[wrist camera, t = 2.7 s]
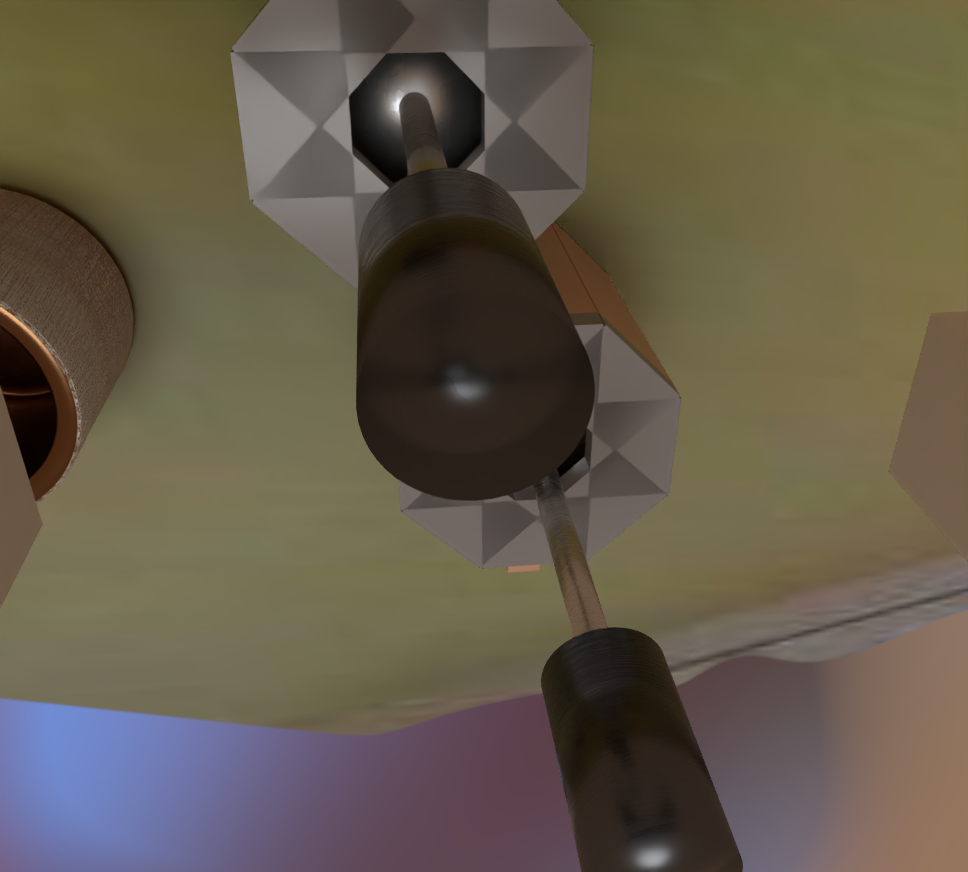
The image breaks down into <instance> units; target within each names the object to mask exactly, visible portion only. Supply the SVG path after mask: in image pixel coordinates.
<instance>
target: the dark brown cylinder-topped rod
mask: <svg viewBox="0 0 968 872" xmlns="http://www.w3.org/2000/svg"><path fill="white" fill-rule="evenodd" d="M349 98H350V112H351V126H352V140H353V147H354V148H356V149H357V150H358V151H359V152H360V153H361V154H362V155H363V156H364V157H365V158H366V159H368V160H369V161H370V162H371V163H372V164H373V165H374V166H375V167H376V168H377V169H378V170H380V171H381V172H382V173H383V174H384V175H385V176H386V177H387V178H388V179H389V180H390V181H392V182H393V183H395V184H394V185H392V186H391V187H390V188H389V189H387V190H386V191H385V192H384V193H383V194H382V195H381V196H380V197H379V199H378V200H377V201H376V202H375V204H374V205H373V206H372V208H371V210H370V211H369V213H368V215H367V217H366V219H365V222H364V224H363V227H362V231H361V234H360V240H359V258H358V321H357V383H356V410H357V416H358V422H359V426H360V429H361V432H362V435H363V437H364V439H365V441H366V444H367V446H368V448H369V449H370V451H371V452H372V454H373V455H374V456H375V458H376V459H377V460H378V462H379V463H380V464H381V465H382V466H383V467H384V468H385V469H386V470H387V471H388V472H389V473H391V474H392V475H393V476H394V477H395V478H397V479H398V480H400V481H401V482H403V483H405V484H406V485H408V486H410V487H412V488H414V489H416V490H418V491H420V492H423V493H426V494H429V495H432V496H435V497H440V498H445V499H451V500H461V501H478V500H486V499H494V498H498V497H502V496H507V495H509V494H512V493H515V492H518V491H521V490H523V489H525V488H527V487H529V486H532V485H534V484H535V483H537V482H539V481H540V480H542V479H543V478H545V477H547V476H548V475H549V474H550V473H552V472H553V471H554V470H556V469H557V468H558V467H559V466H560V465H561V464H562V463H563V462H564V461H565V460H566V459H567V458H568V457H569V456H570V454H571V453H572V452H573V451H574V449H575V448H576V447H577V445H578V443H579V442H580V440H581V439H582V437H583V435H584V433H585V431H586V428H587V426H588V424H589V421H590V418H591V414H592V411H593V405H594V398H595V381H594V375H593V369H592V366H591V362H590V359H589V356H588V354H587V352H586V350H585V347H584V345H583V343H582V341H581V339H580V337H579V334H578V332H577V330H576V328H575V326H574V324H573V321H572V319H571V317H570V315H569V313H568V311H567V308H566V306H565V304H564V302H563V300H562V298H561V295H560V293H559V291H558V289H557V287H556V285H555V283H554V280H553V278H552V276H551V274H550V272H549V270H548V267H547V265H546V263H545V261H544V259H543V257H542V254H541V252H540V250H539V248H538V246H537V244H536V241H535V239H534V237H533V235H532V233H531V231H530V228H529V226H528V224H527V222H526V220H525V218H524V216H523V214H522V212H521V209H520V208H519V206H518V205H517V203H516V202H515V200H514V199H513V198H512V197H511V196H510V195H509V194H508V192H507V191H505V190H504V189H503V188H502V187H501V186H500V185H498V184H497V183H495V182H494V181H492V180H491V179H489V178H487V177H485V176H483V175H481V174H479V173H475V172H472V171H469V170H465V169H459V168H458V167H459V166H460V165H461V163H462V162H463V161H464V160H465V159H466V158H467V157H468V156H469V155H470V154H471V153H472V152H473V151H474V150H475V149H476V148H477V147H478V146H479V144H480V143H481V90H480V88H479V87H478V86H477V85H476V84H475V83H474V82H473V81H472V80H471V79H470V78H469V77H468V76H467V75H466V74H465V73H464V72H463V71H462V70H461V69H460V68H459V67H458V66H457V65H456V64H455V63H454V62H453V61H452V60H451V59H450V58H449V57H448V55H447V54H446V53H445V52H430V53H386V54H385V56H384V57H383V58H382V59H381V60H380V61H379V62H378V64H377V65H376V66H375V67H374V68H373V69H372V71H371V72H370V73H369V74H368V75H367V76H366V77H365V79H364V80H363V81H362V82H361V83H360V84H359V85H358V87H357V88H356V89H355V90H354V91H353V92H352V93H351V95H350V96H349Z"/></svg>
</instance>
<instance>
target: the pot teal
mask: <svg viewBox="0 0 968 872" xmlns="http://www.w3.org/2000/svg"><path fill="white" fill-rule="evenodd" d="M592 43H593V42H592V41H591V40H590V39H589V38H588V36H587V35H586V34H585V33H584V32H583V31H582V30H581V28H580V27H579V26H578V25H577V24H576V23H575V21H574V20H573V19H572V18H571V17H570V16H569V15H568V13H567V12H566V11H565V10H564V9H563V8H562V7H561V5H560V4H559V3H558V2H557V1H556V0H268V1H267V2H266V3H265V5H264V6H263V7H262V9H261V10H260V11H259V13H258V14H257V15H256V17H255V18H254V19H253V20H252V22H251V23H250V24H249V26H248V27H247V28H246V30H245V31H244V32H243V34H242V35H241V36H240V38H239V39H238V40H237V42H236V43H235V44H234V46H233V47H232V48H231V49H232V51H231V52H230V54H231V62H232V69H233V77H234V84H235V92H236V99H237V107H238V114H239V121H240V129H241V136H242V144H243V151H244V159H245V166H246V174H247V181H248V189H249V196H250V200H252V203H253V204H254V205H255V206H256V207H257V208H259V209H260V210H261V211H262V212H263V213H265V214H266V215H267V216H268V217H270V218H271V219H272V220H273V221H274V222H276V223H277V224H278V225H279V226H280V227H282V228H283V229H284V230H285V231H286V232H288V233H289V234H290V235H291V236H292V237H294V238H295V239H296V240H297V241H298V242H300V243H301V244H302V245H303V246H305V247H306V248H307V249H308V250H309V251H311V252H312V253H313V254H314V255H315V256H317V257H318V258H319V259H320V260H321V261H323V262H324V263H325V264H326V265H327V266H329V267H330V268H331V269H332V270H333V271H335V272H336V273H337V274H338V275H340V276H341V277H342V278H343V279H344V280H346V281H347V282H348V283H349V284H350V285H352V286H353V287H354V288H355V289H356V290H357V289H358V258H359V240H360V234H361V231H362V227H363V224H364V222H365V219H366V217H367V215H368V213H369V211H370V210H371V208H372V206H373V205H374V204H375V202H376V201H377V200H378V199H379V197H380V196H381V195H382V194H383V193H384V192H385V191H386V190H387V189H389V188H390V187H391V186H392V185H394V184H395V183H393V182H392V181H390V180H389V179H388V178H387V177H386V176H385V175H384V174H383V173H382V172H381V171H380V170H378V169H377V168H376V167H375V166H374V165H373V164H372V163H371V162H370V161H369V160H368V159H366V158H365V157H364V156H363V155H362V154H361V153H360V152H359V151H358V150H357V149H356V148H354V147H353V140H352V126H351V112H350V98H349V96H350V95H351V93H352V92H353V91H354V90H355V89H356V88H357V87H358V85H359V84H360V83H361V82H362V81H363V80H364V79H365V77H366V76H367V75H368V74H369V73H370V72H371V71H372V69H373V68H374V67H375V66H376V65H377V64H378V62H379V61H380V60H381V59H382V58H383V57H384V56H385V54H386V53H430V52H445V53H446V54H447V55H448V57H449V58H450V59H451V60H452V61H453V62H454V63H455V64H456V65H457V66H458V67H459V68H460V69H461V70H462V71H463V72H464V73H465V74H466V75H467V76H468V77H469V78H470V79H471V80H472V81H473V82H474V83H475V84H476V85H477V86H478V87H479V88H480V90H481V143H480V144H479V146H478V147H477V148H476V149H475V150H474V151H473V152H472V153H471V154H470V155H469V156H468V157H467V158H466V159H465V160H464V161H463V162H462V163H461V165H460V166H459V167H458V168H459V169H465V170H469V171H472V172H475V173H479V174H481V175H483V176H485V177H487V178H489V179H491V180H492V181H494V182H495V183H497V184H498V185H500V186H501V187H502V188H503V189H504V190H505V191H507V192H508V194H509V195H510V196H511V197H512V198H513V199H514V200H515V202H516V203H517V205H518V206H519V208H520V209H521V212H522V214H523V216H524V218H525V220H526V222H527V224H528V226H529V228H530V231H531V233H532V235H533V237H534V239H535V240H536V239H537V238H538V237H539V236H540V235H541V234H542V233H543V232H544V231H545V230H546V229H547V228H548V227H549V226H550V225H551V224H552V223H553V222H554V221H555V220H556V219H557V218H558V217H559V216H560V215H561V214H562V213H563V212H564V211H565V210H566V209H567V208H568V207H569V206H570V205H571V204H572V203H573V202H574V201H575V200H576V199H577V198H578V197H579V196H580V195H581V194H582V193H583V192H584V191H583V189H586V172H587V155H588V138H589V121H590V103H591V86H592V69H593V52H594V46H593V45H592Z"/></svg>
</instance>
